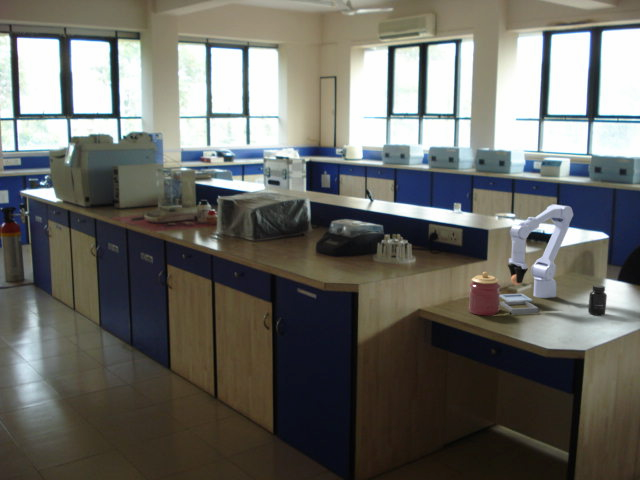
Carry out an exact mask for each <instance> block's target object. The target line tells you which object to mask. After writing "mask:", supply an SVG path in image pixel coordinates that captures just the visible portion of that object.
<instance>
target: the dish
mask: <svg viewBox="0 0 640 480" xmlns="http://www.w3.org/2000/svg"><path fill="white" fill-rule="evenodd" d="M500 298H501V299H503V300H505V302H508V301H527V302H529V303H530V302H531V303H532V302H533V301H534V300H533V299H532V298H530V297H528V296H527V295H525V294H524V293H508V294H507V293H505V294H500Z"/></svg>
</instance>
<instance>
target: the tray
mask: <svg viewBox="0 0 640 480" xmlns="http://www.w3.org/2000/svg"><path fill="white" fill-rule="evenodd" d="M515 305H519V306H520V305H524V306H525V305H526V306H527V307H517V308H516V307H514V308H513V307H512V306H515ZM499 306H501V307H502V308H504V309H506V310H507V311H508V313H509V314H510V315H529V314H539V310H540V309H539V307H537V306H536V305H534V304H533V303H532V302H531V303H530V302H527V301H499Z"/></svg>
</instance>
